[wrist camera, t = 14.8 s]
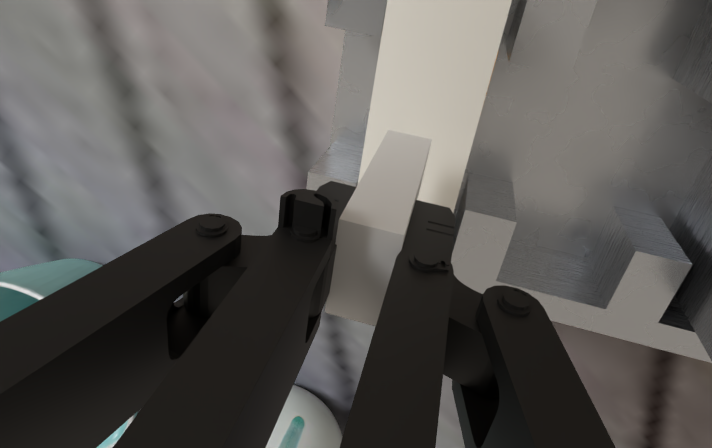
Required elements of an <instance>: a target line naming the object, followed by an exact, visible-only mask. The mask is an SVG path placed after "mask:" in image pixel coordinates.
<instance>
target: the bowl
mask: <svg viewBox="0 0 712 448" xmlns="http://www.w3.org/2000/svg"><path fill="white" fill-rule="evenodd" d="M102 266H103V265H101V264H98V263H95V262H92V261H88V260H83V259H62V260H56V261H52V262H47V263H42V264H37V265H33V266H28V267H23V268H19V269H14V270H10V271H5V272H1V273H0V322H1V321H2V320H4V319H6V318H8V317H10V316H12V315H13V314H15V313H17V312H19V311H21V310H23V309H24V308H26V307H28V306H30V305H32V304H34V303H35V302H37V301H39V300H41V299H43V298H45V297H46V296H48V295H50V294H52V293H54V292H56V291H58V290H59V289H61V288H63V287H65V286H67V285H69V284H70V283H72V282H74V281H76V280H78V279H80V278H81V277H83V276H85V275H87V274H89V273H91V272H92V271H94V270H96V269H98V268H100V267H102ZM137 413H138V412H136V413H135V414H134V415H133V416H132V417H131V418H130V419H128V420H127V421H126V422H125V423H124V424H123V425H122V426H120V427H119V428H118V429H117V430H116V431H115V432H114V433H113V434H111V435H110V436H109V437H108V438H107V439H106V440H105V441H103V442H102V443H101V444H100V445H99V446H98V447H97V448H113V446H114V445H115V444H116V442H117V441H118V440H119V438H120V437H121V436H122V434H123V433H124V432H125V430H126V429H127V428H128V426H129V425H130V424H131V422H132V421H133V420H134V418H135V417H136V415H137Z"/></svg>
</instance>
